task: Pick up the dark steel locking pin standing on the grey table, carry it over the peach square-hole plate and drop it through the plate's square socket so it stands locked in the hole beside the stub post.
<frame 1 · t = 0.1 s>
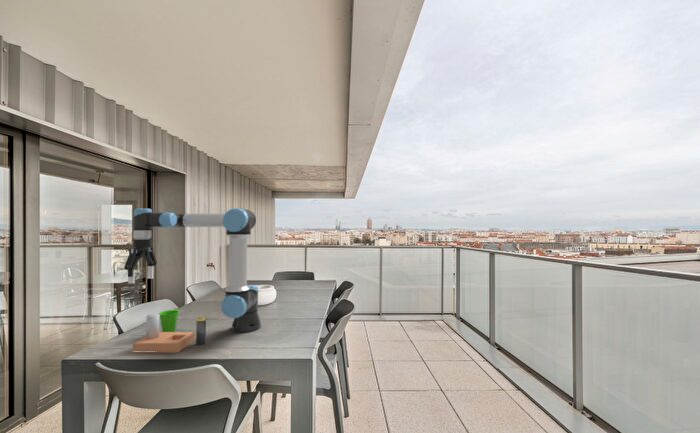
hand: (141, 280, 150), 28 cm above the table, fingers open, 13 cm apart
peach square-hole plate: (165, 346, 137), on the table
cup: (169, 334, 153), on the table
pin: (200, 343, 140), on the table
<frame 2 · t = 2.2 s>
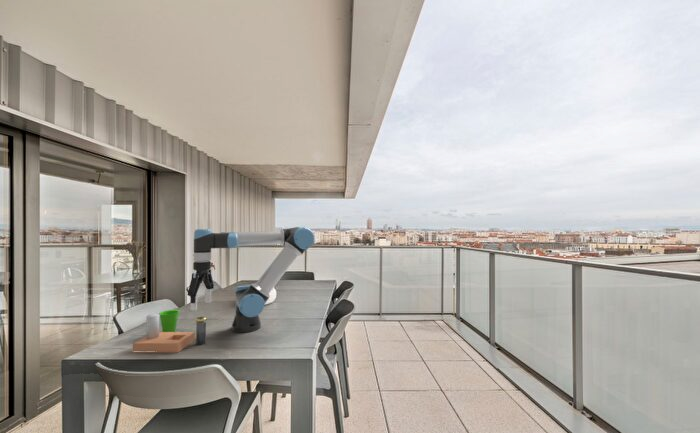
hand: (201, 306, 141), 18 cm above the table, fingers open, 13 cm apart
nothing on the table moved.
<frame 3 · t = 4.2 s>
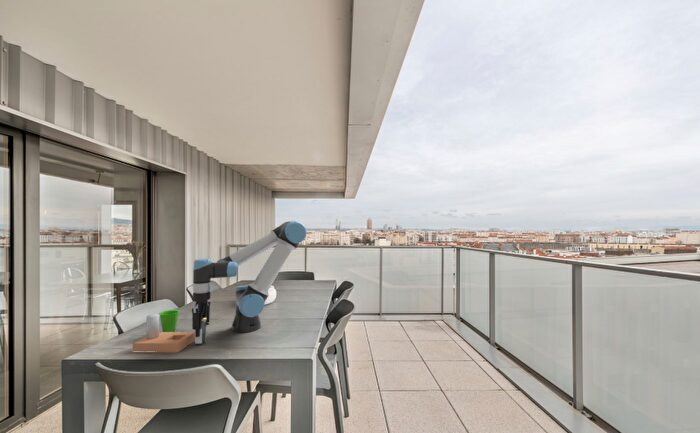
hand: (200, 341, 141), 1 cm above the table, fingers closed on pin, 4 cm apart
pin: (200, 343, 140), on the table, touching gripper
everything else where it was.
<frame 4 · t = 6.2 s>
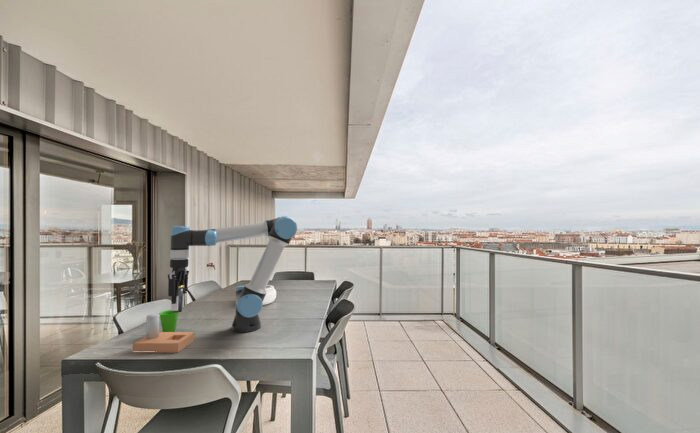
hand: (177, 309, 138), 17 cm above the table, fingers closed on pin, 4 cm apart
pin: (177, 311, 138), point 16 cm above the table, touching gripper
everything else where it was.
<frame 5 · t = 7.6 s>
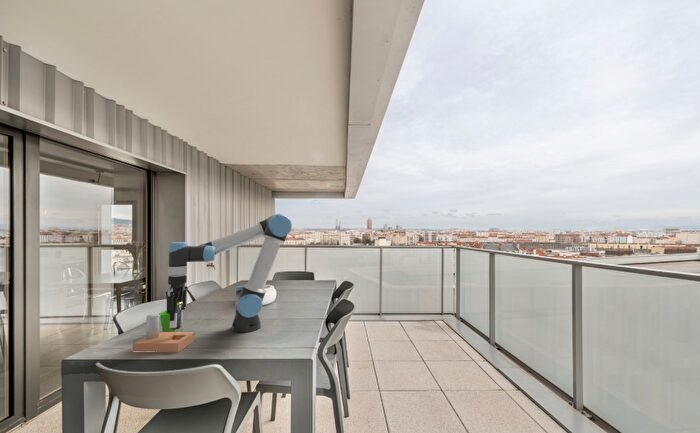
hand: (176, 325, 138), 9 cm above the table, fingers closed on pin, 4 cm apart
pin: (175, 328, 138), point 8 cm above the table, touching gripper
everything else where it was.
when the fingers open (6 cm above the table, at t = 8.5 s): pin drops 4 cm, resting in peach square-hole plate.
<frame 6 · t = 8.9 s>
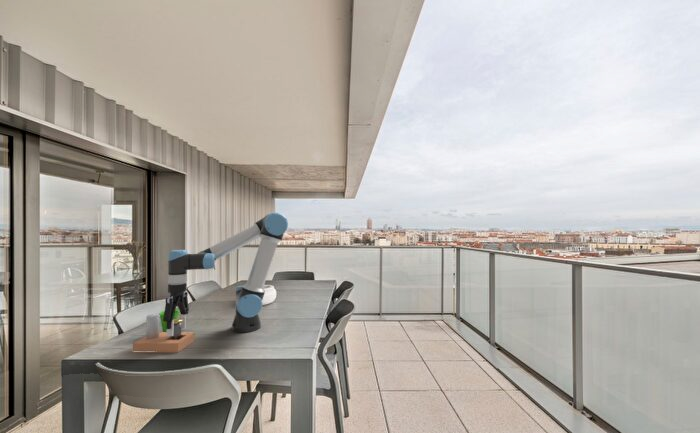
hand: (176, 331, 138), 7 cm above the table, fingers open, 9 cm apart
pin: (176, 346, 138), resting in peach square-hole plate
everything else where it was.
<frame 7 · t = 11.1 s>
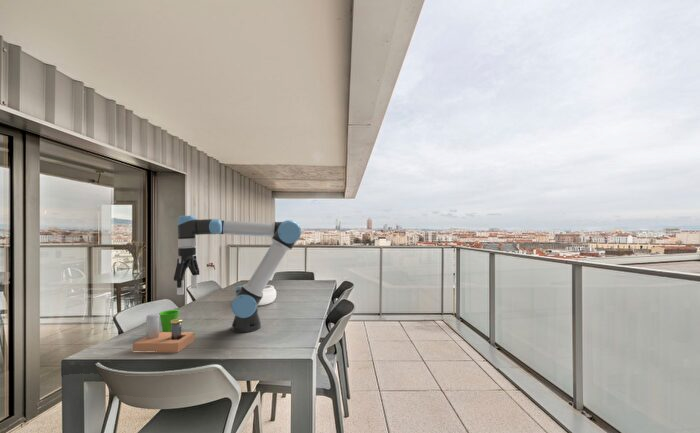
hand: (187, 291, 144), 24 cm above the table, fingers open, 13 cm apart
nothing on the table moved.
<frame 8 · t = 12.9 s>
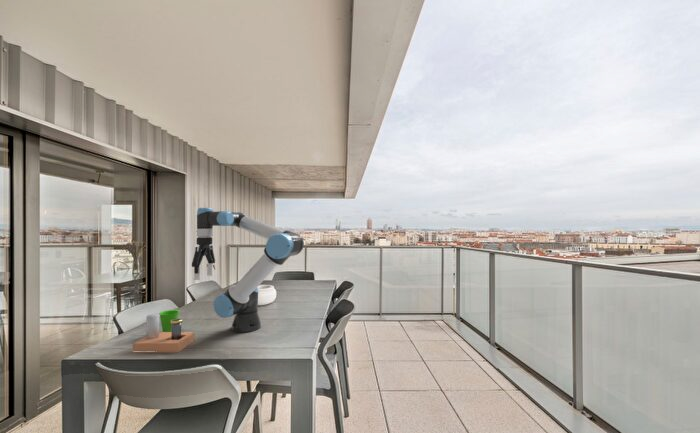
hand: (203, 277, 156), 29 cm above the table, fingers open, 13 cm apart
nothing on the table moved.
at the end: pin 0.0 cm from the target spot on the peach square-hole plate, point 0.0 cm above the peach square-hole plate's base; the gripper is holding nothing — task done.
